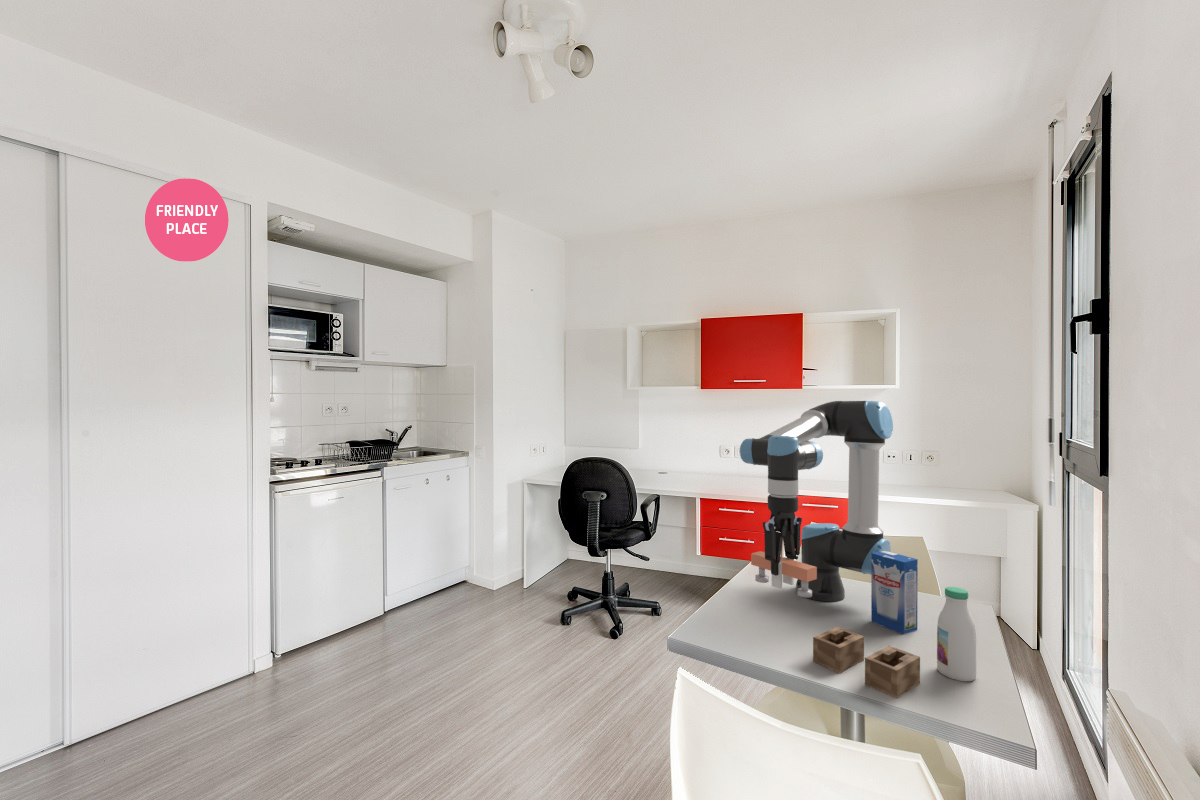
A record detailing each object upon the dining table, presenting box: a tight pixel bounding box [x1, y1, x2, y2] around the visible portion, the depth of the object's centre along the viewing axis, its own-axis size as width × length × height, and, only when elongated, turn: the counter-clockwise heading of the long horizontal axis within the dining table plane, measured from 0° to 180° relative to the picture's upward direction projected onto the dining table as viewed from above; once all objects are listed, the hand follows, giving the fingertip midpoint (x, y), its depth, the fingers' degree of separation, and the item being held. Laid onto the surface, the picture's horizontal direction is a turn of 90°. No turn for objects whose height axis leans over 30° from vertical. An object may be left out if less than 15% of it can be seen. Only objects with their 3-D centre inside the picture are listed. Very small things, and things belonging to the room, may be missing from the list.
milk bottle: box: [936, 586, 977, 682], centre depth 126 cm, size 8×8×20 cm
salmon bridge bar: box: [750, 550, 817, 599], centre depth 138 cm, size 17×4×7 cm, turn 35°
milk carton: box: [870, 551, 919, 635], centre depth 153 cm, size 10×6×20 cm, turn 27°
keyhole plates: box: [812, 626, 921, 699], centre depth 126 cm, size 11×20×6 cm, turn 35°
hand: (782, 585), depth 138 cm, fingers closed on salmon bridge bar, 4 cm apart
